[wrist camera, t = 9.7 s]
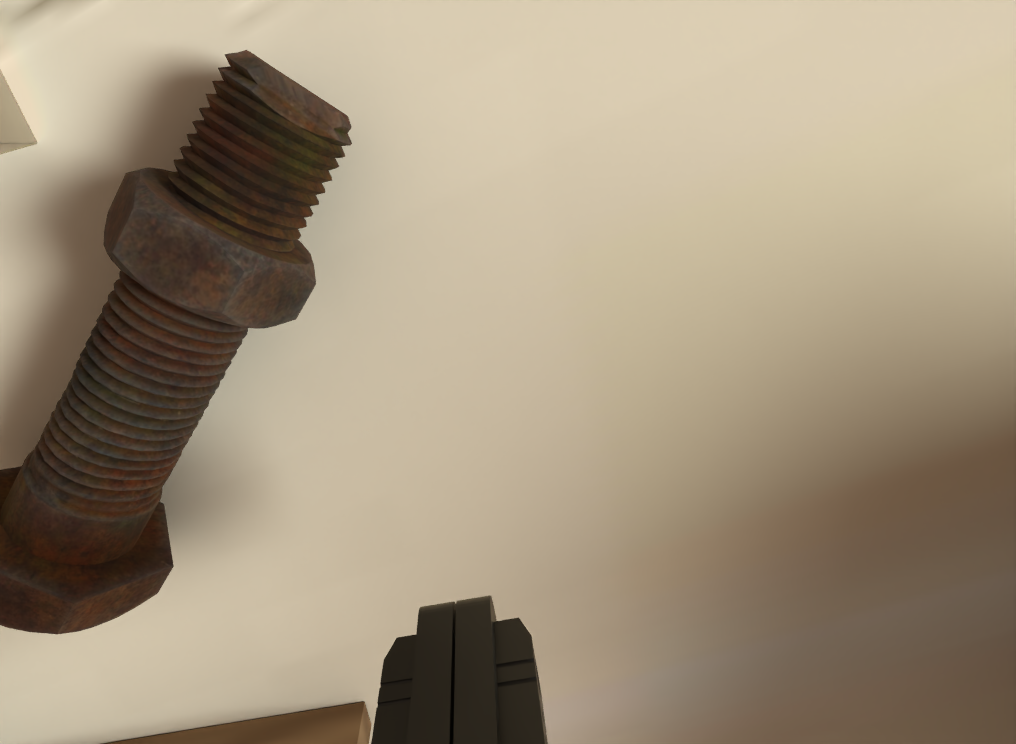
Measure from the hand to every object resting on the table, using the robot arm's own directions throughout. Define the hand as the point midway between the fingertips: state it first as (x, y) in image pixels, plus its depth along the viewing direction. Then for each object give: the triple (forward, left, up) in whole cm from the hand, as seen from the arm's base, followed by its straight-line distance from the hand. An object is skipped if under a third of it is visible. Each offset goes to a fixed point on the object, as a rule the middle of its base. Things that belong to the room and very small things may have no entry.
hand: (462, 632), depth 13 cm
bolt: (-6, -7, -8) cm, 12 cm away
